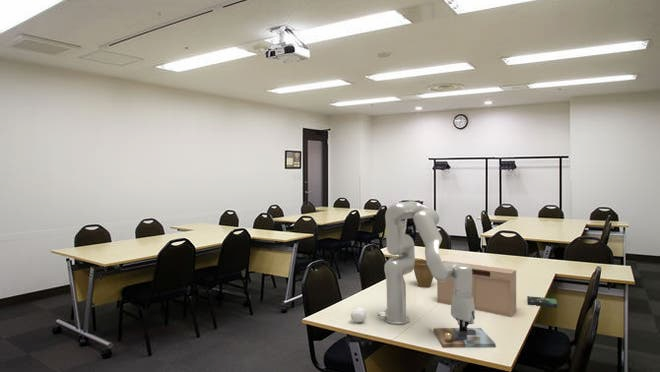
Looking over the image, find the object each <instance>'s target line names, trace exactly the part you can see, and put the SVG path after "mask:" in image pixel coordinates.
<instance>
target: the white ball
mask: <svg viewBox="0 0 660 372" xmlns="http://www.w3.org/2000/svg"><path fill="white" fill-rule="evenodd" d="M367 314H368V313H367V311H366V308H365V307H361V306H356V307H354V308H353V311H352V312H350V318H351V320H352V321H353V322H355V323H357V322H358V324H359V322H361V323H363V322H364V321H365V320H366V319H367Z"/></svg>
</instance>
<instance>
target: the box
mask: <svg viewBox="0 0 660 372" xmlns="http://www.w3.org/2000/svg"><path fill="white" fill-rule="evenodd" d="M441 261H442V263H445V262H449V261H448V260H441ZM455 263H458V264H464V265H469V266H471V268H472V297H473V299H474V306H475V311H477V312H478V311H479V312H484V313H489V314H494V315H499V316H503V317H508V318H512V317H513V316H514V315H515V314H516V313H517V270H516V269H510V268H505V267H495V266H488V265H479V264H471V263H465V262H457V261H456V262H455ZM436 281H437V282H436V283H437V284H436V286H437V287H436V288H437V289H436V293H437V297H436V299H437V303H438V304H444V305H449V306H451V302H452V297H453V294H454V291H453V288H454V278H452V279H448V280H446V281H438V280H436Z"/></svg>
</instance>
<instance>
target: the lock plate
mask: <svg viewBox="0 0 660 372" xmlns="http://www.w3.org/2000/svg"><path fill="white" fill-rule="evenodd" d="M432 329H433V334H434V335H435V337H436V339H438V342H439V344H440V345H441V346H442V348H496V342H495V341H494V340H493V339H492V338H491V337H490V336H489V335H488V333H486V332H485V331H484V329H482V327H467V330H471V329H473V330H475V331H476V335H467V339H464V340H457V341H451V342H446V341H445V332H457V331H459V327H434V328H432Z"/></svg>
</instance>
